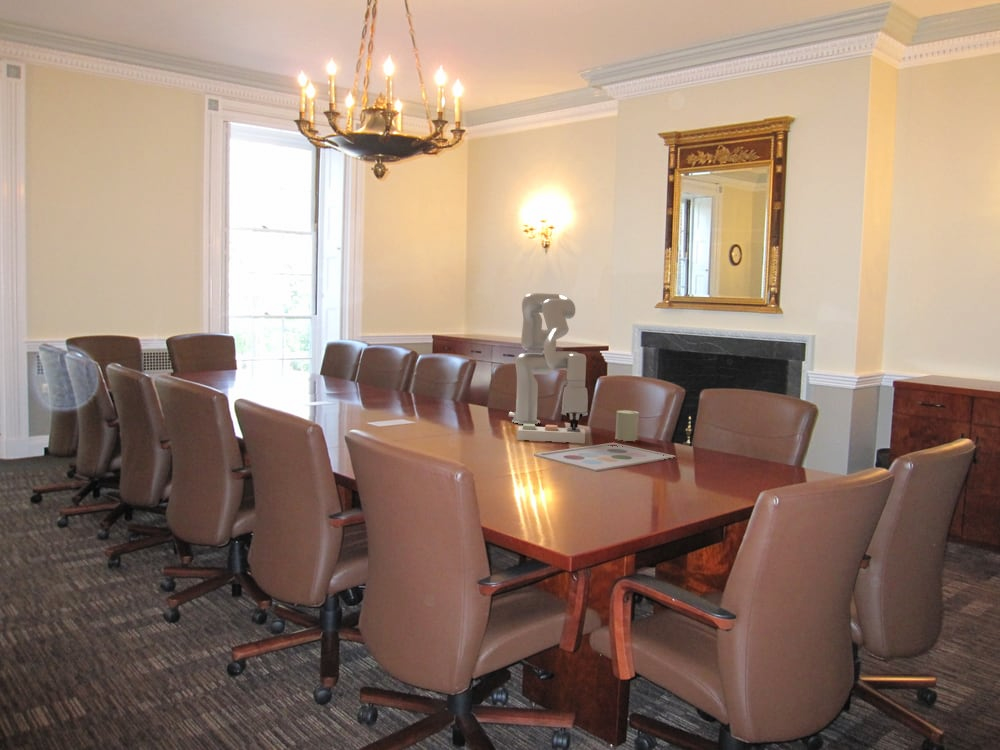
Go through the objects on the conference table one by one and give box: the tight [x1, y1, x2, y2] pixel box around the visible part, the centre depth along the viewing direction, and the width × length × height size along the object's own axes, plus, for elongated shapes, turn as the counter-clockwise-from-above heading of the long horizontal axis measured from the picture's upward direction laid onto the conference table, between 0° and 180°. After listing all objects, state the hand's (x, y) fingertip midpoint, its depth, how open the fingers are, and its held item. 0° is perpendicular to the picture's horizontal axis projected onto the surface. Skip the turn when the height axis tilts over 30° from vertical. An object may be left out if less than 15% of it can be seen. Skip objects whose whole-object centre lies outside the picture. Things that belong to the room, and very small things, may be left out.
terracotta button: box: [544, 424, 558, 431], centre depth 339 cm, size 5×5×4 cm
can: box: [614, 409, 640, 442], centre depth 344 cm, size 9×9×12 cm
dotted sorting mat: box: [533, 442, 676, 472], centre depth 307 cm, size 30×1×43 cm
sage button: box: [522, 424, 536, 430], centre depth 339 cm, size 5×5×4 cm
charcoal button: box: [567, 427, 581, 432], centre depth 338 cm, size 5×5×4 cm
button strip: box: [516, 425, 586, 444], centre depth 339 cm, size 27×11×4 cm, turn 86°
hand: (573, 429), depth 338 cm, fingers closed
